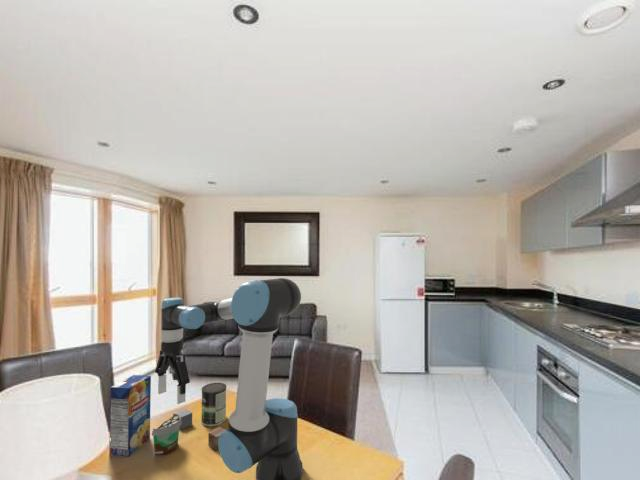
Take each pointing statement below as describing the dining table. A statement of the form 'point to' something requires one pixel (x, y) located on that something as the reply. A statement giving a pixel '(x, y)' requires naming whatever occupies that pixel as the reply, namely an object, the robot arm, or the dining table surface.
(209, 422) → the coffee can
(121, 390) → the juice carton
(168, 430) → the patterned half-round container
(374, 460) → the dining table surface
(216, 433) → the walnut block
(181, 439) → the dining table surface
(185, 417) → the gray block
